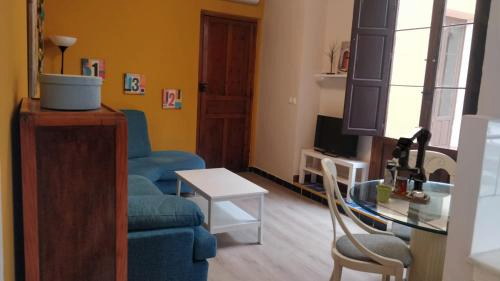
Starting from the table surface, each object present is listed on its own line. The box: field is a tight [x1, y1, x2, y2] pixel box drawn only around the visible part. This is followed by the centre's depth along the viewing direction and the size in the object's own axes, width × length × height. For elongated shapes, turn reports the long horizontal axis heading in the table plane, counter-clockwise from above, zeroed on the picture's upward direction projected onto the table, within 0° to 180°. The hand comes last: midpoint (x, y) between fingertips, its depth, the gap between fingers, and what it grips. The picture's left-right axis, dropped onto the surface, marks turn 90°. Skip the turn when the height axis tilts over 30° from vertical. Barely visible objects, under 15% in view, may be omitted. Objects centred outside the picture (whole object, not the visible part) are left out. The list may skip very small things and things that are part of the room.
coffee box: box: [383, 159, 398, 186], centre depth 280 cm, size 9×6×16 cm
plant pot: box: [375, 184, 394, 203], centre depth 235 cm, size 9×9×9 cm
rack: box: [390, 188, 431, 205], centre depth 245 cm, size 12×22×2 cm, turn 56°
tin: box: [412, 190, 425, 199], centre depth 242 cm, size 6×6×5 cm
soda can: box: [393, 175, 409, 196], centre depth 248 cm, size 7×7×12 cm
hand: (401, 182), depth 247 cm, fingers open, 9 cm apart
